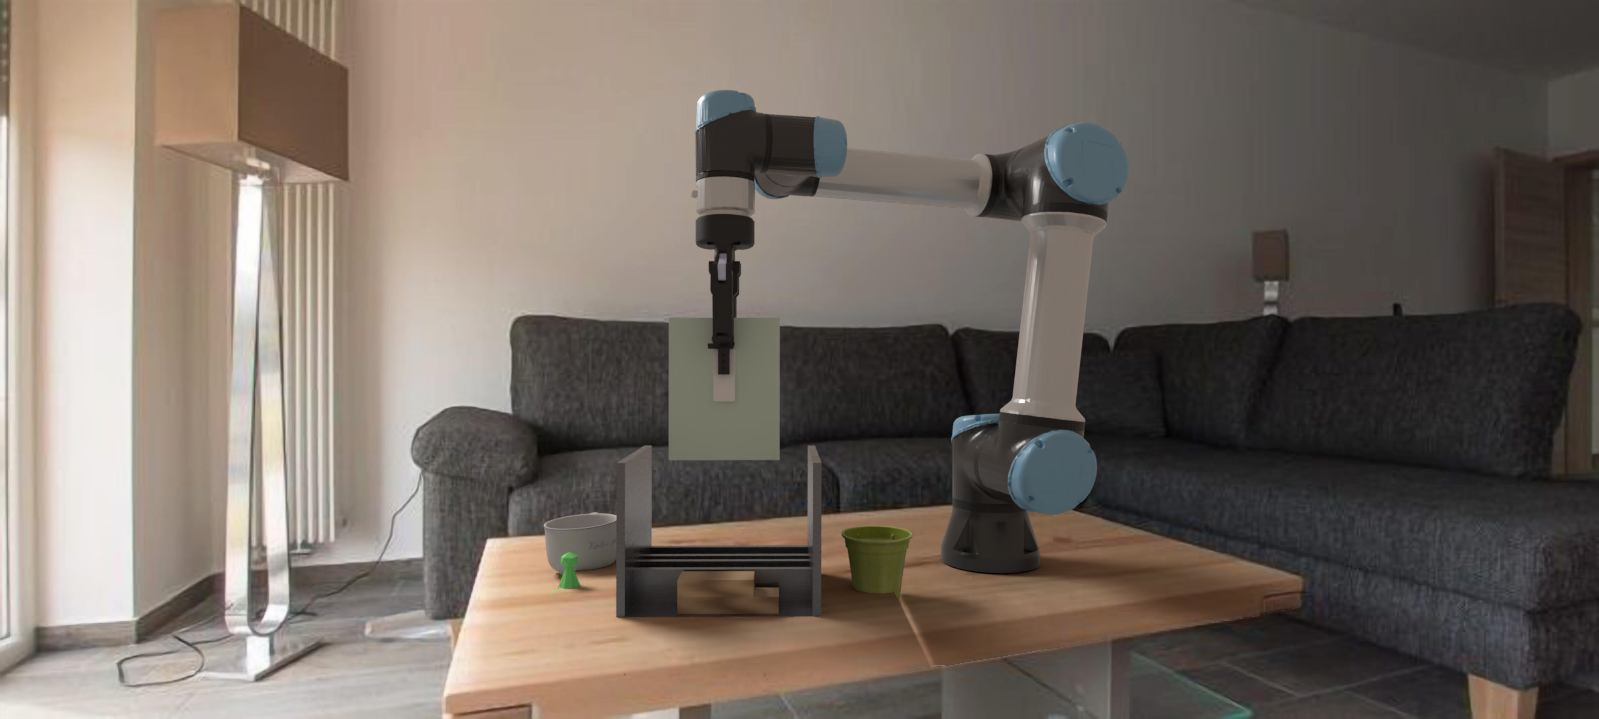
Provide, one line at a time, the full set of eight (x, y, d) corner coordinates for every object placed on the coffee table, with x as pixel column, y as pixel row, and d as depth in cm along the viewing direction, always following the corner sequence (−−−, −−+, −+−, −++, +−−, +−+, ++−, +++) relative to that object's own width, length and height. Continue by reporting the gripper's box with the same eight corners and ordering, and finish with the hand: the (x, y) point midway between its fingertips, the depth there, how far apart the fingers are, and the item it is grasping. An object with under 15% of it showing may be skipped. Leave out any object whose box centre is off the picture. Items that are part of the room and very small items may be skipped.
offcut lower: (778, 603, 101) (778, 587, 101) (778, 613, 97) (778, 596, 97) (681, 603, 100) (681, 587, 100) (677, 614, 96) (677, 597, 96)
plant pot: (903, 611, 102) (903, 542, 102) (832, 603, 106) (832, 536, 106) (919, 592, 111) (919, 528, 111) (852, 585, 114) (853, 523, 114)
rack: (814, 583, 115) (814, 445, 115) (821, 628, 96) (821, 462, 96) (644, 583, 115) (644, 445, 115) (616, 629, 95) (616, 463, 95)
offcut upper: (754, 587, 101) (754, 571, 101) (753, 596, 97) (753, 580, 97) (681, 587, 100) (681, 571, 100) (677, 597, 96) (677, 580, 96)
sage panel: (779, 457, 106) (779, 318, 106) (779, 460, 103) (779, 317, 103) (671, 457, 105) (671, 318, 105) (668, 460, 103) (668, 317, 103)
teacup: (599, 584, 115) (599, 527, 115) (529, 580, 117) (529, 524, 117) (638, 560, 128) (638, 509, 128) (575, 557, 130) (575, 507, 130)
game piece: (547, 595, 109) (548, 550, 109) (579, 590, 112) (579, 546, 112) (557, 603, 106) (558, 557, 106) (590, 598, 108) (590, 553, 108)
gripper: (701, 226, 112) (701, 397, 112) (688, 204, 96) (688, 403, 96) (756, 226, 112) (756, 397, 112) (752, 205, 97) (752, 403, 97)
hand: (725, 400), depth 104 cm, fingers closed on sage panel, 2 cm apart
